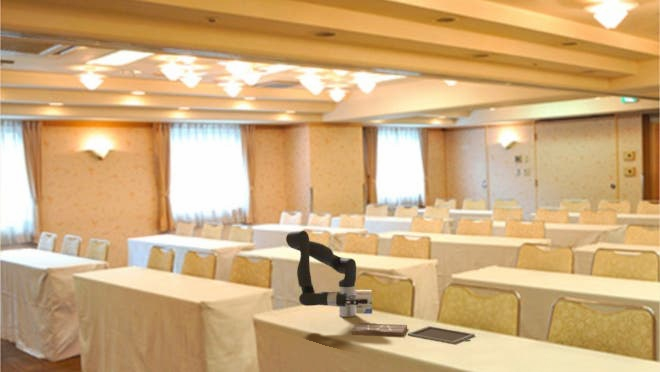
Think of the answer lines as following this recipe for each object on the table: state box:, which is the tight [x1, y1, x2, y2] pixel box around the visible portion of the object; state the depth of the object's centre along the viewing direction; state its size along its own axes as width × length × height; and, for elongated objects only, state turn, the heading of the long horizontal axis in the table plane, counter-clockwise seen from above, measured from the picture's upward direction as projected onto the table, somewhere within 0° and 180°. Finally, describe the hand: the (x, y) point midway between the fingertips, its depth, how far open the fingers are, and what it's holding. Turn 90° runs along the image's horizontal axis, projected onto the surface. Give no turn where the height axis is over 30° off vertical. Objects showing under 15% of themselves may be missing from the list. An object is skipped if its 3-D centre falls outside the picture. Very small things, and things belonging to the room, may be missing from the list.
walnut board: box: [351, 322, 408, 337], centre depth 342 cm, size 16×26×2 cm, turn 75°
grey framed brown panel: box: [407, 326, 476, 345], centre depth 330 cm, size 19×2×30 cm
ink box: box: [355, 289, 373, 315], centre depth 343 cm, size 9×5×12 cm, turn 84°
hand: (368, 300), depth 343 cm, fingers closed on ink box, 5 cm apart
